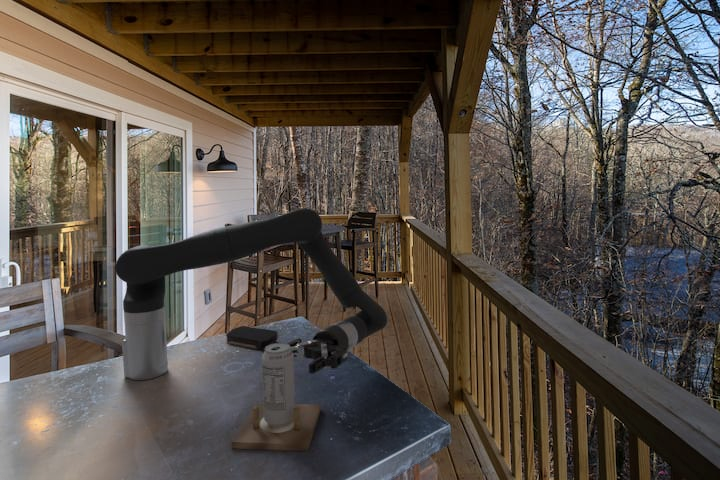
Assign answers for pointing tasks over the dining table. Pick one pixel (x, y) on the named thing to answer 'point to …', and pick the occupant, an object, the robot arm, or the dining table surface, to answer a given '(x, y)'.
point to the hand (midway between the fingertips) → (293, 364)
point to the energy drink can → (278, 385)
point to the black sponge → (251, 337)
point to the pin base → (278, 430)
